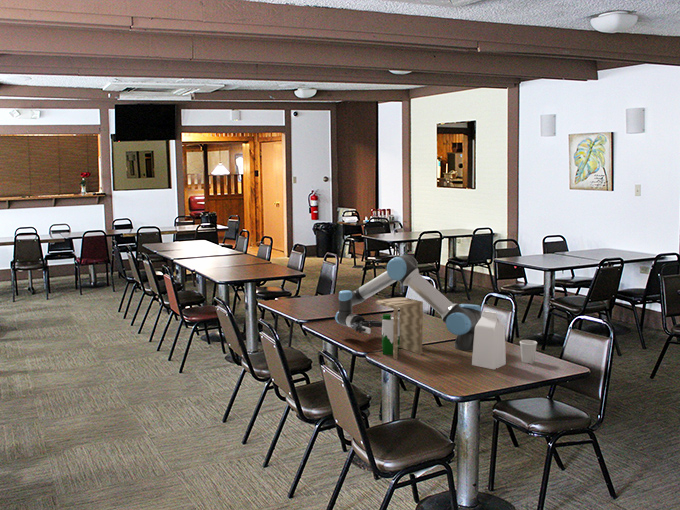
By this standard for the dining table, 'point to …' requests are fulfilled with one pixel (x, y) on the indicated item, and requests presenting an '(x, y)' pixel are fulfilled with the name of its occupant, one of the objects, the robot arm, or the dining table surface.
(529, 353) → the dixie cup
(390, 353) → the soya milk
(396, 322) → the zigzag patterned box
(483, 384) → the dining table surface
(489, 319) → the milk
